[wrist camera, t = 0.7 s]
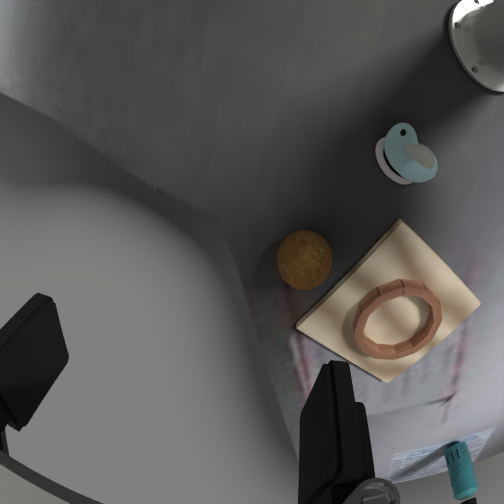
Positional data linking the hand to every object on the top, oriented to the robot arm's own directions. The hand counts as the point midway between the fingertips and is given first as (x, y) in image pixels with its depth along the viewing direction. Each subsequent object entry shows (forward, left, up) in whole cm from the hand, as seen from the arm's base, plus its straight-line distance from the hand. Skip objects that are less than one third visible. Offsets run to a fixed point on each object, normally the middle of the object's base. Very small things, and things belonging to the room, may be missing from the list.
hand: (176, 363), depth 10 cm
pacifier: (-11, +11, -29) cm, 33 cm away
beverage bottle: (+21, +77, -29) cm, 85 cm away
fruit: (+4, +10, -29) cm, 31 cm away
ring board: (+4, +27, -29) cm, 39 cm away
